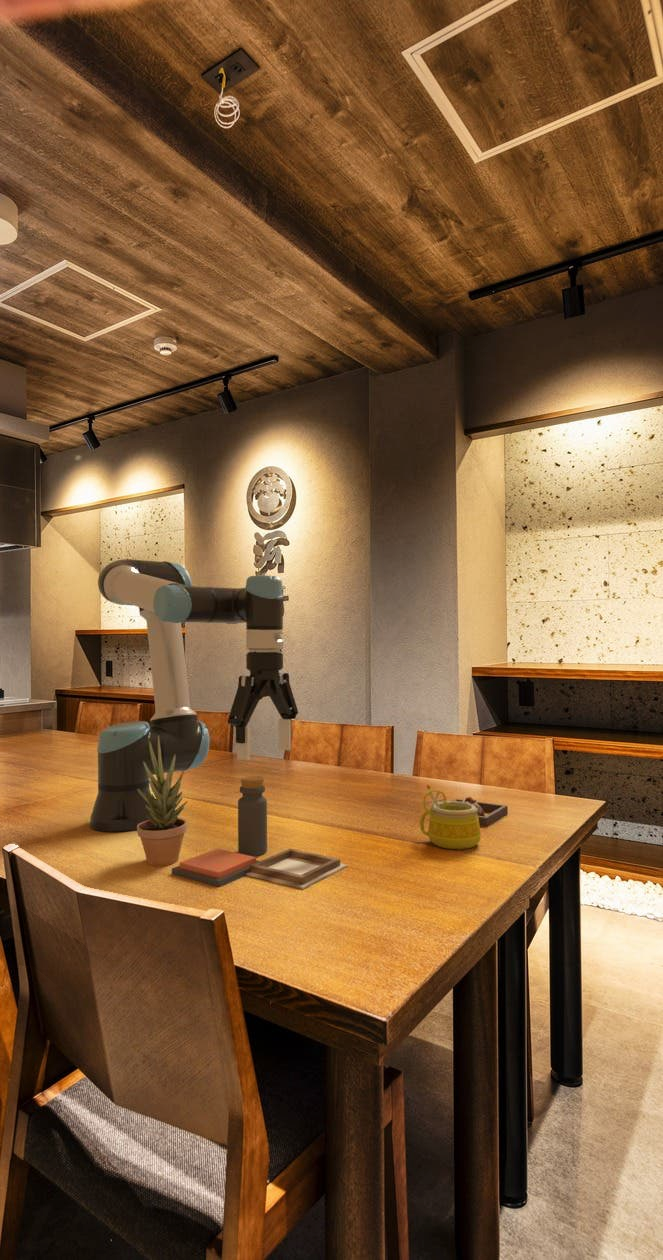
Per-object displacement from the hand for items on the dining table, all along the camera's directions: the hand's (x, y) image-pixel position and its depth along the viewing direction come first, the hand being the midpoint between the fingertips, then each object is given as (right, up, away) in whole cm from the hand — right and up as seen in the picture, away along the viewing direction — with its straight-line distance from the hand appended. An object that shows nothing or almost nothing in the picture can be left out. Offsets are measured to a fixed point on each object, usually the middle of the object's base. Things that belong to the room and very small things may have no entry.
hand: (264, 754), depth 139 cm
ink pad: (-7, -19, -13) cm, 24 cm away
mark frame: (+7, -19, -13) cm, 24 cm away
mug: (+38, -20, +3) cm, 43 cm away
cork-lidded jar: (-2, -20, -2) cm, 20 cm away
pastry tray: (+47, -20, +25) cm, 57 cm away
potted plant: (-19, -20, -7) cm, 28 cm away
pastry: (+47, -20, +25) cm, 57 cm away
